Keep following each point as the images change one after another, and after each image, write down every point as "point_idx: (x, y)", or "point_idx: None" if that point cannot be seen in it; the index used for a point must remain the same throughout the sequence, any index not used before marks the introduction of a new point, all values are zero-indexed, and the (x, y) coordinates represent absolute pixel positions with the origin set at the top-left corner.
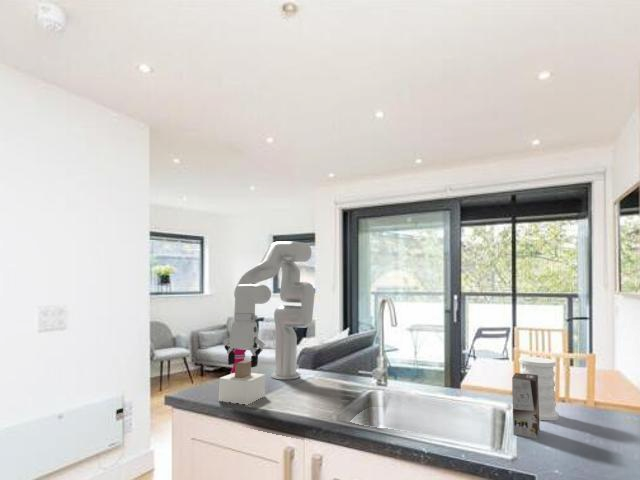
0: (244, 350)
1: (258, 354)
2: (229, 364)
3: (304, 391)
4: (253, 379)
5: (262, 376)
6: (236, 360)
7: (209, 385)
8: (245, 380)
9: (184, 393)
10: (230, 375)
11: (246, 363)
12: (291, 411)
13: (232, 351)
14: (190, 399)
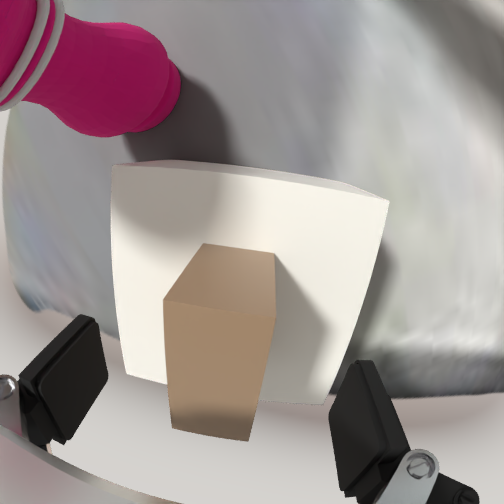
0: (2, 26)
1: (422, 463)
2: (105, 378)
3: (472, 72)
4: (340, 361)
5: (376, 246)
6: (25, 98)
7: (24, 115)
8: (299, 393)
9: (19, 250)
10: (137, 311)
11: (258, 392)
12: (461, 335)
13: (36, 428)
14: (72, 310)
